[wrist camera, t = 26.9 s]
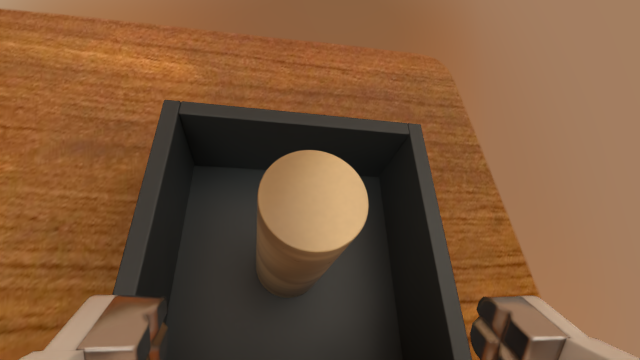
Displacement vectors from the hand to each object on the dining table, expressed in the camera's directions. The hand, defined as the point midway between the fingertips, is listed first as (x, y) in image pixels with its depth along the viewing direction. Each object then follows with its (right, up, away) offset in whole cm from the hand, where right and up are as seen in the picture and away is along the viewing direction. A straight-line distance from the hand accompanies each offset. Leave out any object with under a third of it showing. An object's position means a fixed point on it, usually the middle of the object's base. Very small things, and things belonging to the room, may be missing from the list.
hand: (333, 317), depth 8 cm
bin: (-2, -2, +11) cm, 11 cm away
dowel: (-2, -1, +10) cm, 10 cm away
